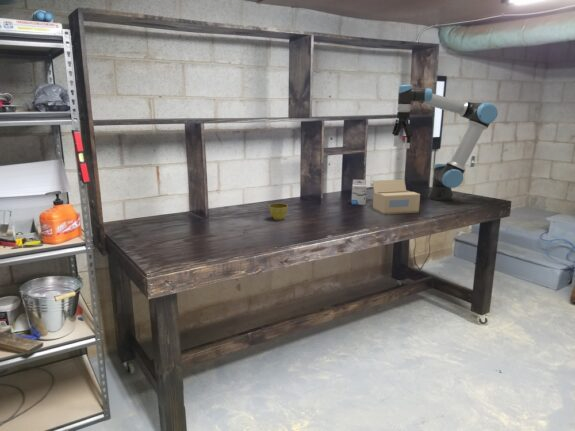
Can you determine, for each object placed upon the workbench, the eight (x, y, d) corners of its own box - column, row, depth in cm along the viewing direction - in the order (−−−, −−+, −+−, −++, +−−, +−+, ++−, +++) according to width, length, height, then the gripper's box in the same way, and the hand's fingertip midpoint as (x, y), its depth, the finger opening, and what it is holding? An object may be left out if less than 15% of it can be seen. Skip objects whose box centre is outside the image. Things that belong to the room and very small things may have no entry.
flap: (406, 190, 264) (400, 193, 271) (404, 178, 265) (398, 182, 272) (374, 191, 258) (369, 195, 265) (372, 179, 260) (367, 183, 267)
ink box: (351, 204, 271) (352, 180, 267) (351, 202, 275) (352, 179, 272) (365, 205, 270) (366, 181, 266) (365, 203, 275) (366, 179, 271)
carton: (406, 207, 266) (407, 189, 263) (418, 212, 253) (420, 194, 250) (372, 208, 260) (373, 191, 258) (383, 214, 247) (385, 195, 244)
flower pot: (268, 220, 231) (268, 207, 229) (269, 216, 240) (269, 203, 239) (287, 221, 231) (287, 208, 229) (287, 216, 240) (287, 203, 239)
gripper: (388, 111, 275) (386, 145, 280) (409, 112, 252) (406, 149, 257) (398, 111, 277) (396, 145, 282) (420, 112, 253) (417, 149, 259)
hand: (401, 147), depth 269 cm, fingers open, 13 cm apart
